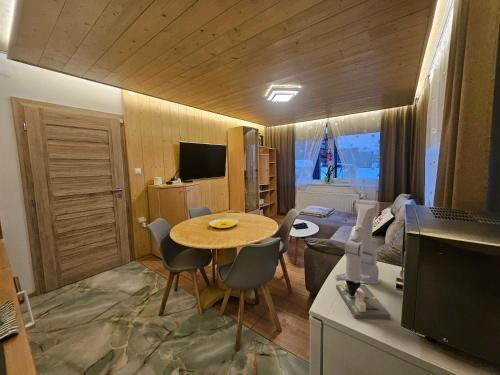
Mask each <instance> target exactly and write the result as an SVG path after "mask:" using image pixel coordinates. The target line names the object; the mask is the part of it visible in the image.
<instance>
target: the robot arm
mask: <svg viewBox="0 0 500 375" xmlns="http://www.w3.org/2000/svg"><path fill="white" fill-rule="evenodd" d="M354 205H355V206H354V207H355V208H354V209H355V211H356V213H357V218H356V222H355V225H354V226H352V228H351V232H350V233H349V238H348V239H347V240H346V241H345V243H344V252H345V253H344V254H345V257H346V259H345V273H340V274H335V275H334V276H335V281H336V282H339V281H341V282H342V281H346V283H347V286H348V289H349V294H350V296H351V297H354V296H355V293H356V291H357V289H358V288H359V287H360V286H361V285H362V284H379V283H380V282H379V272H380V270H379V266H378V265H377V263H378V251H377V250H376V248H374V247H373V245H372V243H373V240H372V239H373V228H374V218H375V217H378V216H379V215H380V202H379V201H378V200H371V199H370V200H368V199H360V198H357V199H356V200H355V204H354Z"/></svg>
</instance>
